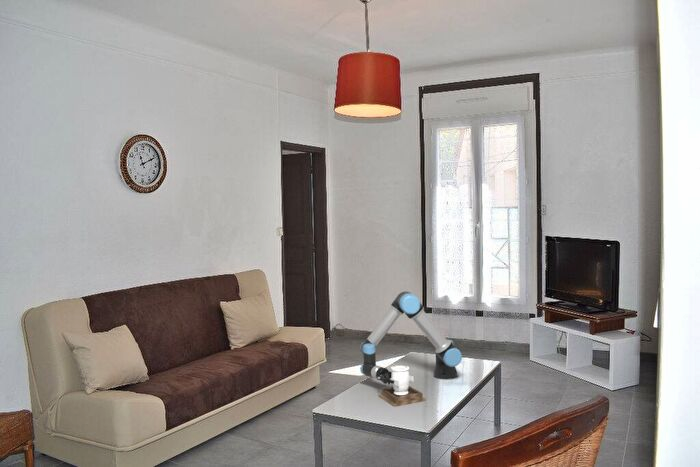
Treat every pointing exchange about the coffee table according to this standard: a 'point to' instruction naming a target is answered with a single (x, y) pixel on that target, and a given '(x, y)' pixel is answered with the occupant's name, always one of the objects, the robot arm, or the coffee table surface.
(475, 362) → the coffee table surface
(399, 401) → the holder
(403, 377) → the jar
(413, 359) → the coffee table surface
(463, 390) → the coffee table surface
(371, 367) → the robot arm
